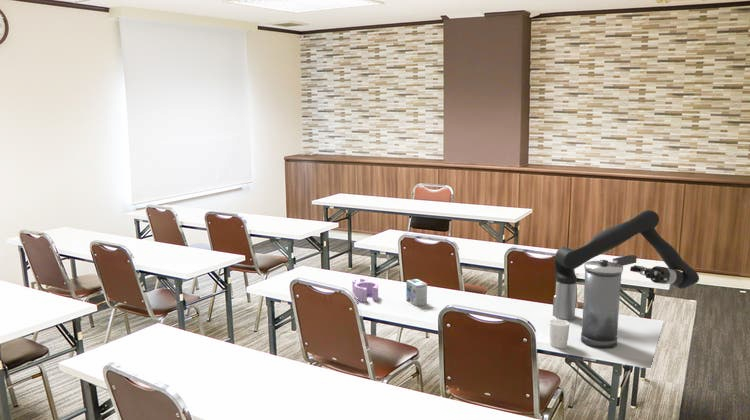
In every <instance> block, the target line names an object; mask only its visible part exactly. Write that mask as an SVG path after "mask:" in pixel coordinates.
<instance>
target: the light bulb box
mask: <svg viewBox="0 0 750 420" xmlns="http://www.w3.org/2000/svg"><path fill="white" fill-rule="evenodd" d="M405 294H406V297H405V298H406V301H407V300H408V302H409V303H410V302H411V303H410V304H412V305H413V306H415V305H418V306H423V304H425V305H427V304H428V300H427V299H428V296H427V295H428V283H426V282H424V281H422V280H420V279H418V278H415V279H414V278H413V279H407V280H406V293H405Z"/></svg>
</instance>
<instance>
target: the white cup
mask: <svg viewBox="0 0 750 420" xmlns="http://www.w3.org/2000/svg"><path fill="white" fill-rule="evenodd" d="M569 333H570V321H568V320H565V319H559V318H557V319H556V318H553V319H551V320H550V321H549V341H550V342H549V344H550V346H551V347H552V348H555V349H565V348H567V347H568V340H569Z"/></svg>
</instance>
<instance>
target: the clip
mask: <svg viewBox="0 0 750 420" xmlns="http://www.w3.org/2000/svg"><path fill="white" fill-rule="evenodd" d="M351 284H352V287H351V288H352V289H351V290H352V292H353V293H354V294H355V296H356V297H357V298H358V300H357V301H359V300H363V301H362V302H363V303H367V302H366V301H368V295H367V294H371V295H370V296H372V299H373V300H372V301H375V300H378V301H379V283H377V282H373V281H369V280H368V279H366V278H360V281H357V279H356V278H354V279H352V283H351ZM353 293H352V294H353ZM354 294H353V295H354Z"/></svg>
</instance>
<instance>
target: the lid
mask: <svg viewBox="0 0 750 420" xmlns="http://www.w3.org/2000/svg"><path fill="white" fill-rule="evenodd" d="M637 256H638V255H633V254H630V255H625V256H620V257H615V258H612V261H609V260H606V259H600V260H589V261H587V262H585V263H584V270H585V269H586V270H588V271H592V272H596V273H603V274H617V273H621V272H622V273H623V272H624V266H628V265H632V264H633V265H634V264H636V263H637V258H638V257H637Z"/></svg>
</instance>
